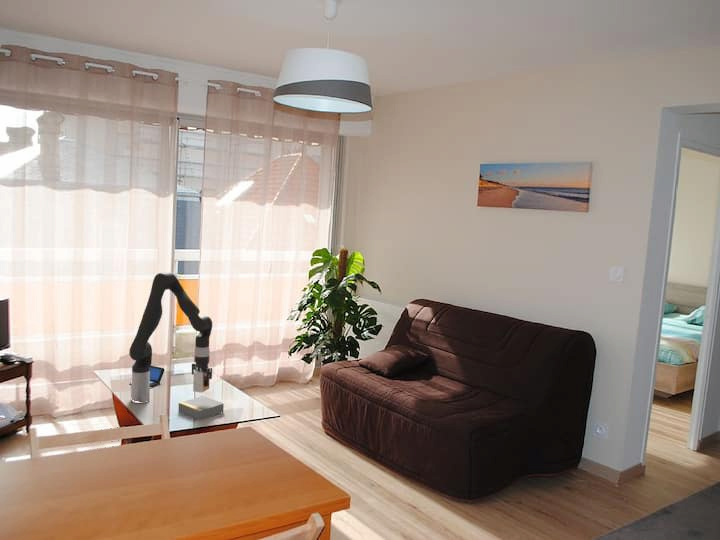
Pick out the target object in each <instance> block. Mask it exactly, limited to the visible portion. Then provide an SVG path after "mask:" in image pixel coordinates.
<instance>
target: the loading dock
mask: <svg viewBox="0 0 720 540" xmlns="http://www.w3.org/2000/svg"><path fill="white" fill-rule="evenodd" d="M224 407H225V406H224V403H223V402H221V401H218V400H216V399H213V398H210V397H208V396H205V395H202V396H201V395H200V396H198V397H194V398H192V399H188V400H185V401H178V413H180V414H182V415H185V416H187V417H189V418H192V419H194V420H197V421H202V420H205V419H208V418H211V417H213V416H217V415H219V413H220V414H222V413H221V412H223V413H224ZM216 414H217V415H216Z"/></svg>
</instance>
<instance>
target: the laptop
mask: <svg viewBox="0 0 720 540" xmlns="http://www.w3.org/2000/svg"><path fill="white" fill-rule="evenodd" d="M164 372H165V368H164V367H158V366H154V365H151V366H150V387H152V388H154V387H157V386H159V385H161V381H162V378H163V375H164Z"/></svg>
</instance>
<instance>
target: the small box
mask: <svg viewBox="0 0 720 540" xmlns="http://www.w3.org/2000/svg"><path fill="white" fill-rule="evenodd" d="M204 374H207V372H204V373H202V372H201V371H196V372H195V371H194V373H193V380H192V381H193V383H192V386H193V387H192V388H193V389H192V392H195V393H204V392H206V391H208V390H209V389H210V384H209V385H208V386H207V387H204V380H205V379H204ZM209 377H210V375H209ZM206 378H207V376H206Z"/></svg>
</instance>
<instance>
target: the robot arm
mask: <svg viewBox="0 0 720 540" xmlns="http://www.w3.org/2000/svg"><path fill="white" fill-rule="evenodd" d="M166 290H169V291H170V292H171V293H172V294H173V295H174V296H175V298H176V300H177V304H178V306H179V308H180V310H181V312H183V313H184V315H185V316H186V317H187V318H188V320H189V323H190V324H191V327H192V328H193V330H195V331H196V332H198V334H197V335H196V336H195V342H194V343H195V348H194V362H193V363H191V375H193V373H194V372H196V371H201V372H202V373H204V372H207V374H204V379H205V380H204V387H207V386H208V385H209V386H210V380H211V379H212V378H213V368H212V367H209V364H210V354H211V353H210V338H211V334H212V330H213V321H212V318H211V317H210V316H206V315H205V316H202V317H200V316H199V314H200V308H199V307H198V306H197V305H196V304H195V302H193V300H192V299H191V298H190V296H188V294H187V291H185V289H184V287H183V286H182V284H181V283H180V281H179V279H178V278H177V276H176V275H175V274H174V273H173V272H170V271H167V272H159V273H157V274H156V275H154V278H153V281H152V284H151V289H150V293H149V297H148V300H147V303H146V306H145V309H144V310H143V315H142V318H141V320H140V323H139V326H138V329H137V332H136V334H135V337H134V339H133V341H132V343H131V345H130V348H129V352H128V353H129V357H130V358H131V359H132V360H133V361H134V363H133V365H132V366H131V381H132V384H130V385H131V386H130V397H131V398H132V400H134V401H139V402H146V401H148V402H150V395H151V394H150V389H151V388H150V366H152V362H153V347H152V344H151V343H150V342H149V339H150V337H151V336H152V335H153V333H154V332H155V330H157V328H158V327H159V324H160V322H161V319H162V316H163V305H162V299H163V296H164V293H165V291H166ZM209 375H210V377H209ZM206 376H207V378H206ZM131 398H130V399H131ZM132 400H131V401H132ZM146 403H147V402H146Z"/></svg>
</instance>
